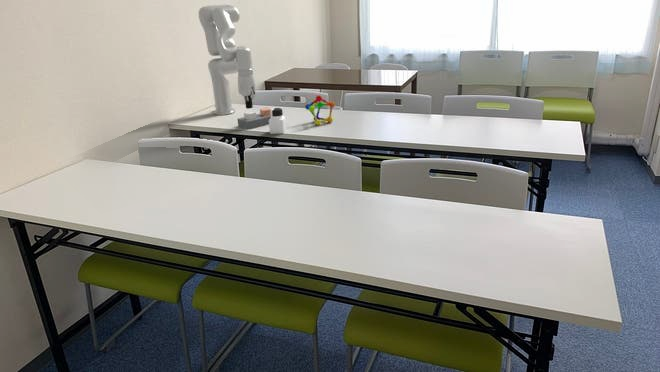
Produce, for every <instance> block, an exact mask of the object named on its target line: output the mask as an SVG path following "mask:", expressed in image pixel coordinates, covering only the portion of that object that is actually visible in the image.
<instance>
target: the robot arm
mask: <svg viewBox="0 0 660 372" xmlns="http://www.w3.org/2000/svg"><path fill="white" fill-rule="evenodd" d="M198 19H199V23H200V25H201V27H202V29H203V31H204V35H205V41H206V46H207V47H206V48H207V51H208V54H209V55H210V56H212V57H217V58H212V59H211V60H209V62H208V64H207V66H208V71H209V75H210V78H211V83H212V90H213V97H214V98H213V99H214V108H215V110H214V111H213V114H214V115H216V116H224V115H225V116H226V115H231V114H234V113H235V112H236V109H235V108H233V105H232V97H231V90H230V89H231V87H230V82H229V80H228V79H227V78H226V77H225V76H226V75H230V74H231V75H232V74H236V73H237V75H238V76H237V89H238V93H239V95H241V97H243V99H244V102H245V109H247V110H248V109H253V108H254V107H253V99H254V98H255V95H256V84H255V79H254V74H253V63H252V62H253V61H252V53H251V49H250V48H249V47H246V46H243V45H242V46H241V45H238V46H236V42H235V40H234V39H233V36H234V35H235V34H236V27H235V26H234V23H238V22H239V20H240V13H239V10H238V8H237V7H236V6H234V5H231V4H217V5H215V4H214V5H204V6H201V7H200V8H199V10H198ZM219 56H220V57H219ZM218 57H219V58H218Z"/></svg>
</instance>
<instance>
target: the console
mask: <svg viewBox="0 0 660 372" xmlns="http://www.w3.org/2000/svg"><path fill="white" fill-rule="evenodd" d="M270 118H271V115H269V116H262V115H260V113H256V119H252V120H247V119H245V118H244V117H238V118H237V120H236V121H237V126H238V127H240V128H243V129H246V130H251V129H254V128H260V127H263V126H267V125H269V119H270Z"/></svg>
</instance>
